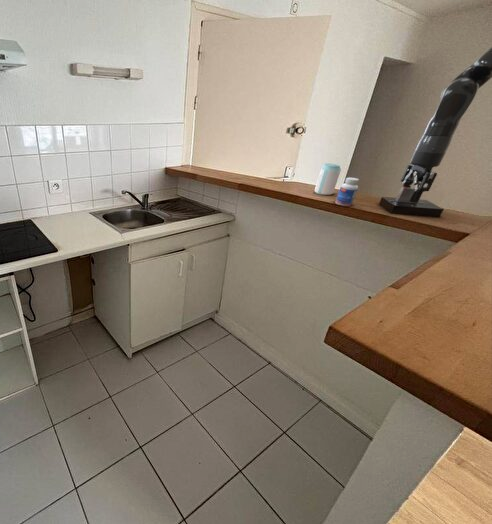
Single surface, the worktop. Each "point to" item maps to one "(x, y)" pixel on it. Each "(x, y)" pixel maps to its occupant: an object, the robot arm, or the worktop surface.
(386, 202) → the base
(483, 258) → the worktop surface
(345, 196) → the pill bottle
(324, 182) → the can
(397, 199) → the tap handle
